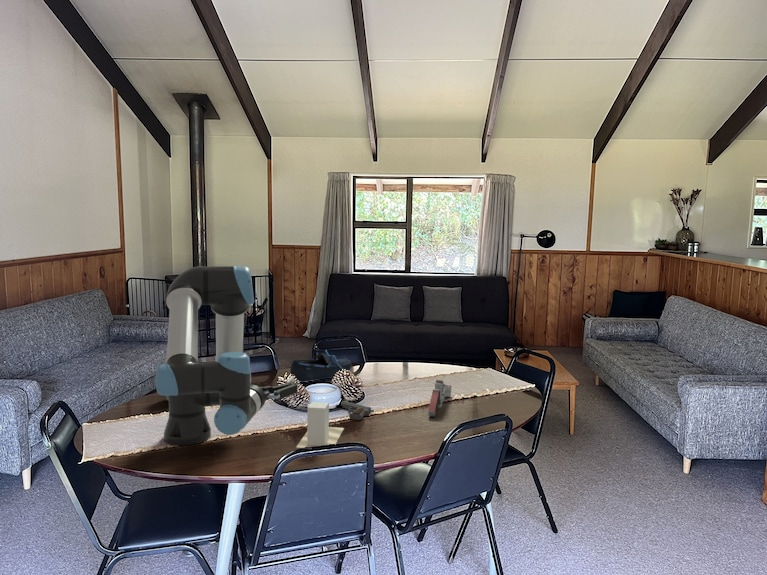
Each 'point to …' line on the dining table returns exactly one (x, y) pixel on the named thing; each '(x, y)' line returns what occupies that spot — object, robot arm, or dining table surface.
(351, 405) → the handgun
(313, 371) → the moccasin
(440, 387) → the revolver
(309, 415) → the tall cream block
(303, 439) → the board
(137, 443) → the dining table surface
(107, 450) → the dining table surface
